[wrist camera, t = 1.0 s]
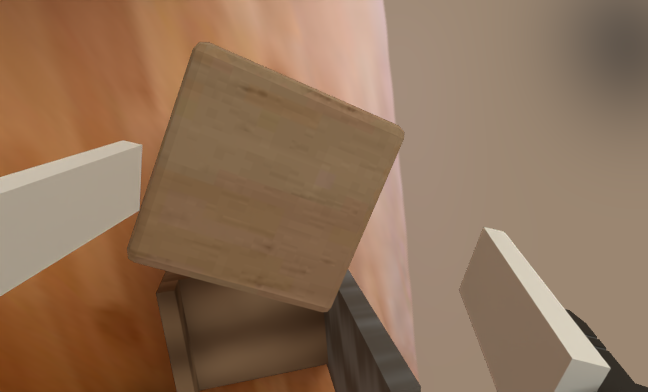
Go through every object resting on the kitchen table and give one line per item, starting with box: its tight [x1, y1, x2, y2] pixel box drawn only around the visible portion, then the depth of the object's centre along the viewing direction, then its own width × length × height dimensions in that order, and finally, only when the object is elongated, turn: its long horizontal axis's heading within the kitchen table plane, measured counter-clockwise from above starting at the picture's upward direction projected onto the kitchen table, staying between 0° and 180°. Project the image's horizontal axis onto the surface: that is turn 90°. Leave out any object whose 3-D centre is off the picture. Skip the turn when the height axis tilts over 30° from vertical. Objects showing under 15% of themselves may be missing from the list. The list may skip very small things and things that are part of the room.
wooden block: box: [127, 42, 404, 312], centre depth 26 cm, size 10×10×20 cm
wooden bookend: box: [156, 270, 421, 392], centre depth 29 cm, size 14×16×22 cm
